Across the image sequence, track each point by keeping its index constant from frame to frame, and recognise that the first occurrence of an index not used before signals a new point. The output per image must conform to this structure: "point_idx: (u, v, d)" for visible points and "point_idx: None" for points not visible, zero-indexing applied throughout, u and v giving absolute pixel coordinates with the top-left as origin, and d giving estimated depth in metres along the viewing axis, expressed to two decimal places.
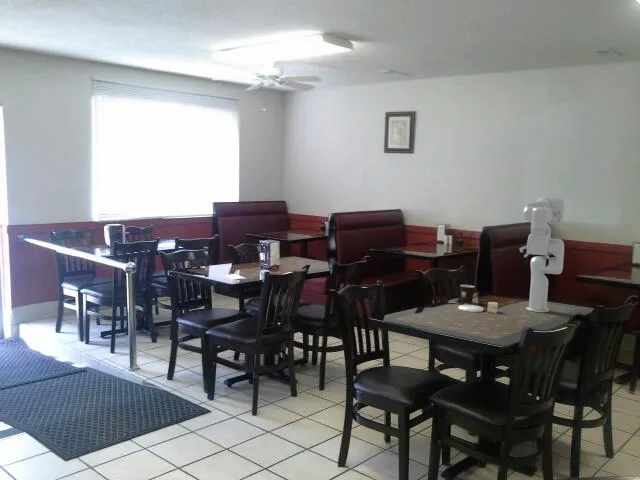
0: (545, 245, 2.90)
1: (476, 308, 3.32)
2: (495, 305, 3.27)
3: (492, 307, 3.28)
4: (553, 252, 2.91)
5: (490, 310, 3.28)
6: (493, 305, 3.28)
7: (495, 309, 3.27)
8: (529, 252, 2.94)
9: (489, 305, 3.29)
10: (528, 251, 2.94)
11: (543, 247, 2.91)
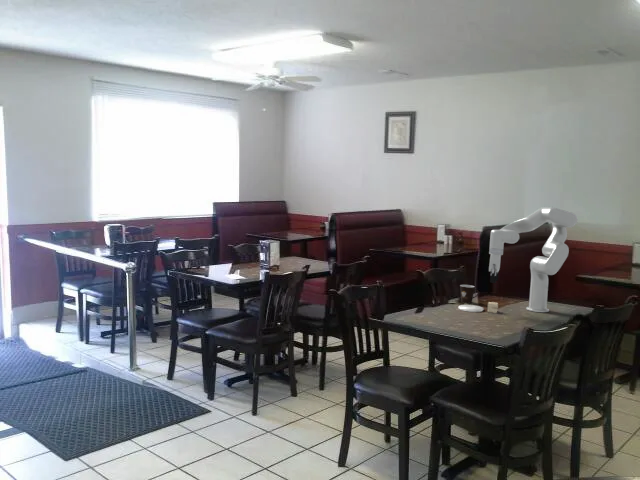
0: None
1: (476, 308, 3.32)
2: (495, 305, 3.27)
3: (492, 307, 3.28)
4: None
5: (490, 310, 3.28)
6: (493, 305, 3.28)
7: (495, 309, 3.27)
8: (497, 270, 3.24)
9: (489, 305, 3.28)
10: (497, 270, 3.24)
11: None
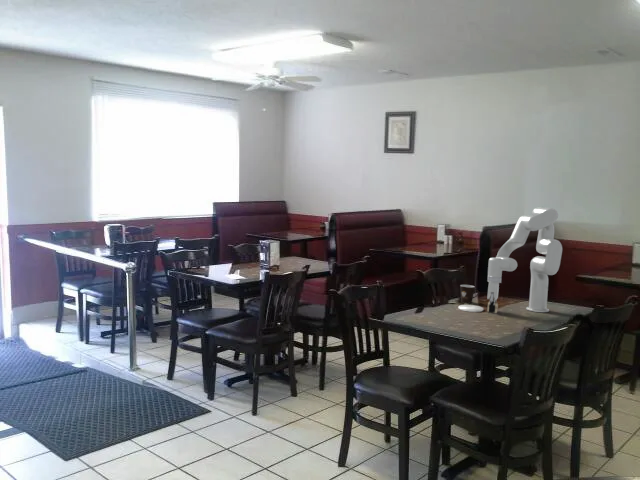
0: None
1: (476, 308, 3.32)
2: (495, 305, 3.27)
3: None
4: None
5: None
6: None
7: (495, 309, 3.27)
8: (496, 298, 3.26)
9: None
10: (496, 298, 3.25)
11: None
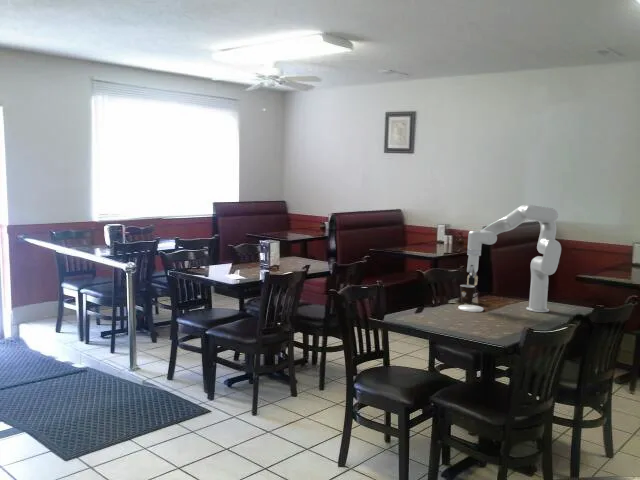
0: None
1: (476, 308, 3.32)
2: (475, 278, 3.30)
3: None
4: None
5: None
6: None
7: (474, 282, 3.30)
8: (475, 271, 3.28)
9: None
10: (475, 270, 3.28)
11: None
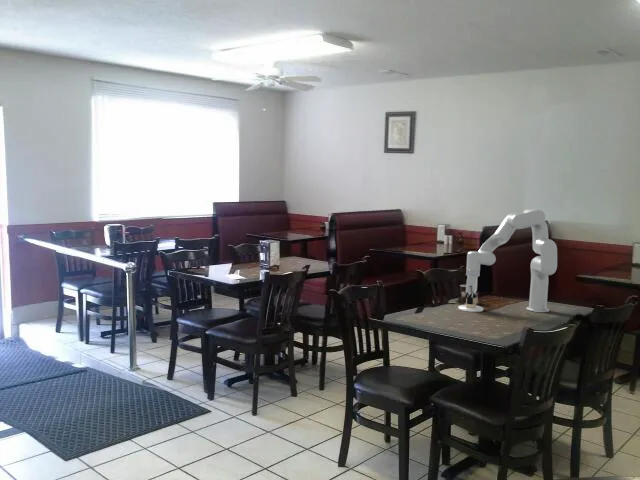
0: None
1: (476, 308, 3.32)
2: (473, 301, 3.31)
3: None
4: None
5: (468, 306, 3.32)
6: None
7: (473, 305, 3.31)
8: (474, 292, 3.29)
9: None
10: (474, 291, 3.29)
11: None
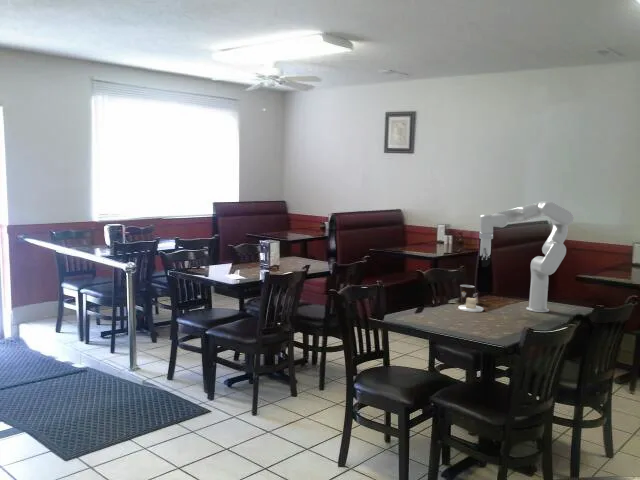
0: None
1: (476, 308, 3.32)
2: (473, 301, 3.31)
3: (470, 303, 3.32)
4: None
5: (468, 306, 3.32)
6: (471, 301, 3.31)
7: (473, 305, 3.31)
8: (488, 254, 3.30)
9: (467, 301, 3.32)
10: (488, 254, 3.29)
11: (490, 248, 3.35)
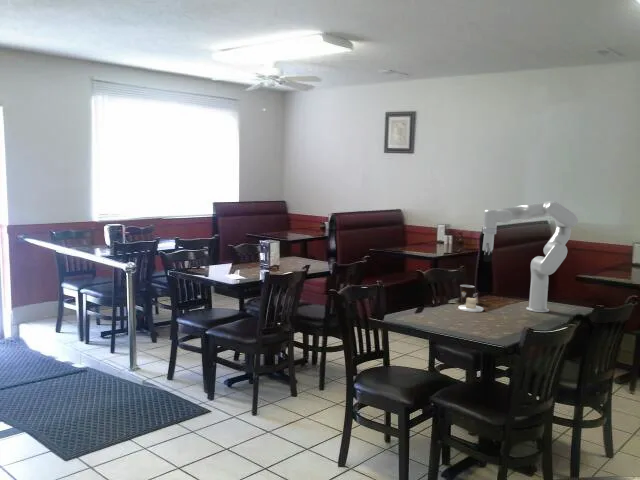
0: None
1: (476, 308, 3.32)
2: (473, 301, 3.31)
3: (470, 303, 3.32)
4: None
5: (468, 306, 3.32)
6: (471, 301, 3.31)
7: (473, 305, 3.31)
8: (491, 249, 3.30)
9: (467, 301, 3.32)
10: (491, 249, 3.29)
11: (493, 243, 3.35)
